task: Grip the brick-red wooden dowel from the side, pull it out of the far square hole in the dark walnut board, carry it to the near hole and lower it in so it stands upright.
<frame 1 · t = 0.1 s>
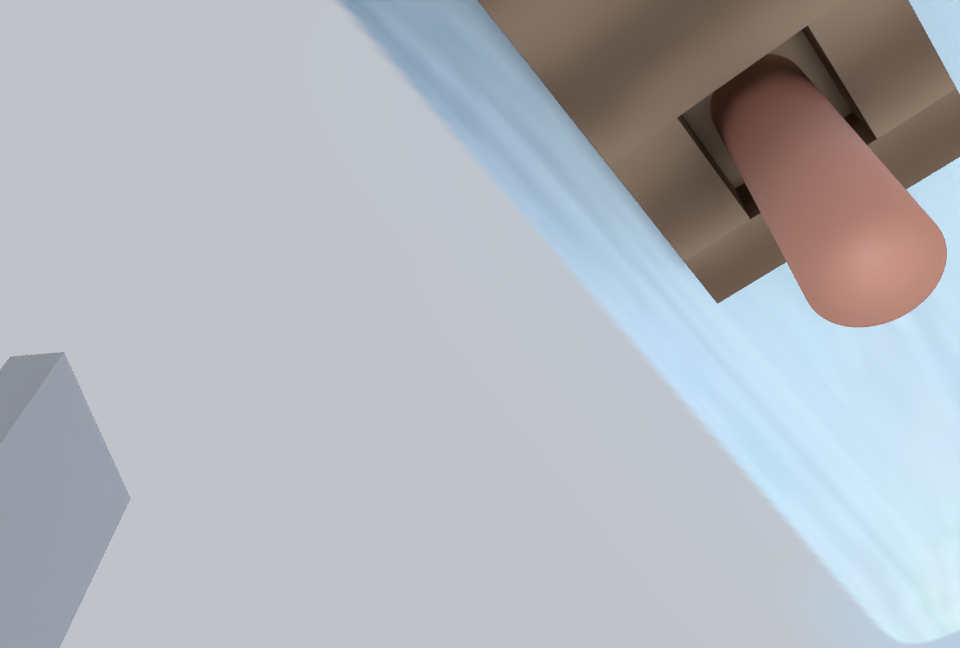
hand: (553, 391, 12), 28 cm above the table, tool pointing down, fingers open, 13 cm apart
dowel: (759, 101, 37), point 1 cm above the table, touching hole board
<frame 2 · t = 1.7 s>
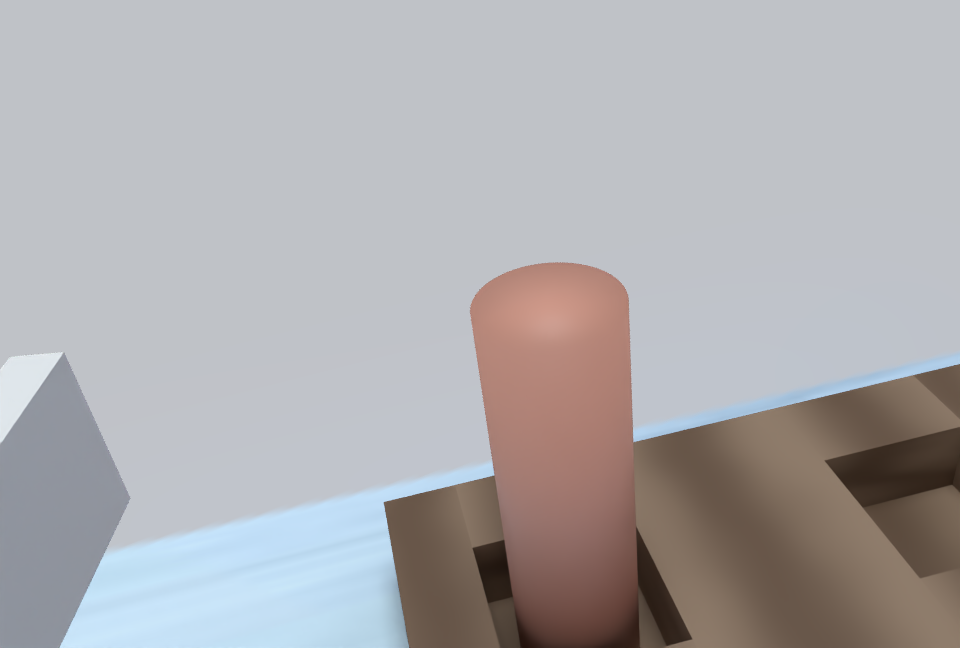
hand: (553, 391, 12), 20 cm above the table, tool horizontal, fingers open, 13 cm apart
hole board: (758, 619, 32), on the table
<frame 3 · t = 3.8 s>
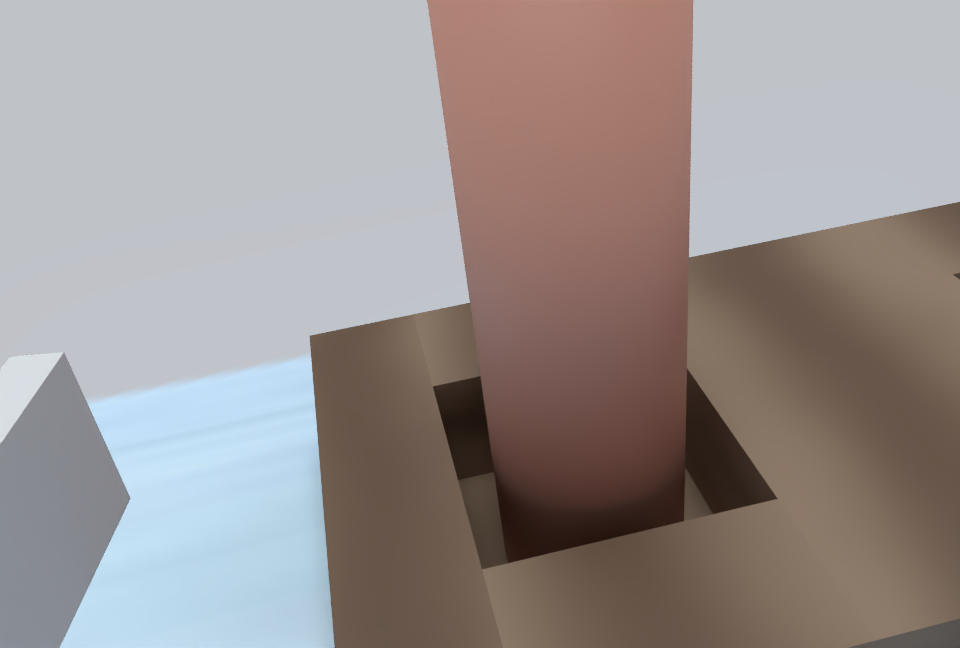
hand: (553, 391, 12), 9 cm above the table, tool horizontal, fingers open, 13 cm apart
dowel: (592, 537, 20), point 1 cm above the table, touching hole board
hole board: (855, 504, 21), on the table
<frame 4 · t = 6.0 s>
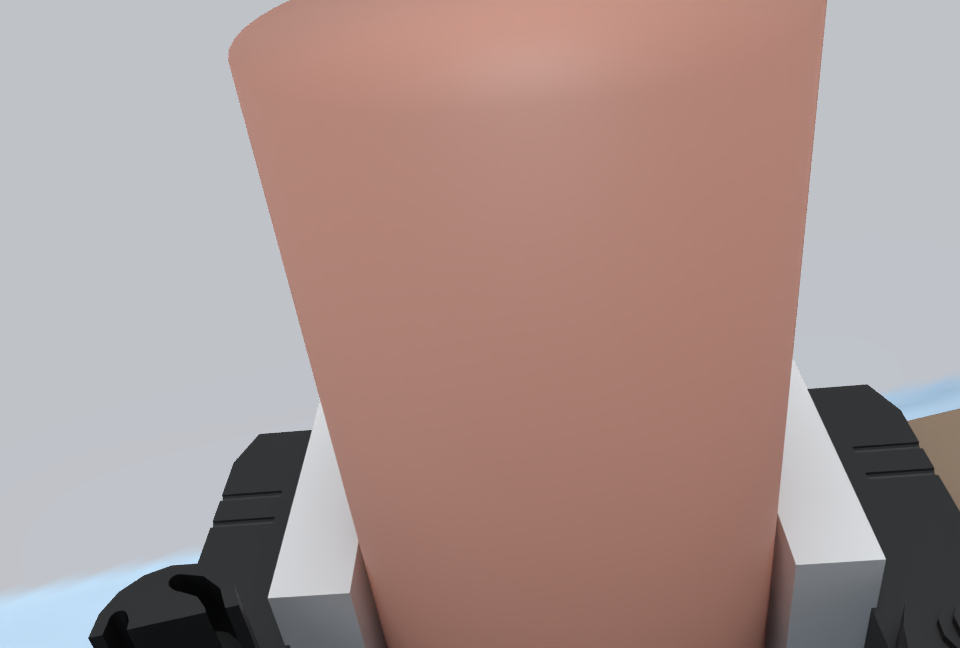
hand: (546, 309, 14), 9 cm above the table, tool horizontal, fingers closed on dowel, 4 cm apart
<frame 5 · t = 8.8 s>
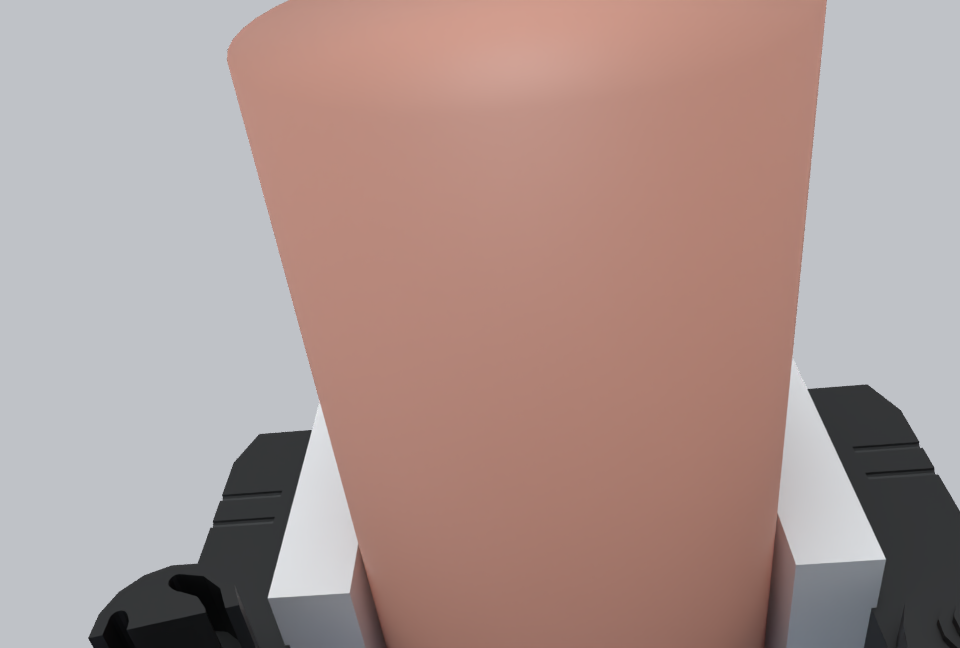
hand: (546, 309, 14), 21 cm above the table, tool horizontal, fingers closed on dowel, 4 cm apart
when the fingers open (10 cm above the table, at t = 11.5 s): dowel drops 1 cm, resting on hole board.
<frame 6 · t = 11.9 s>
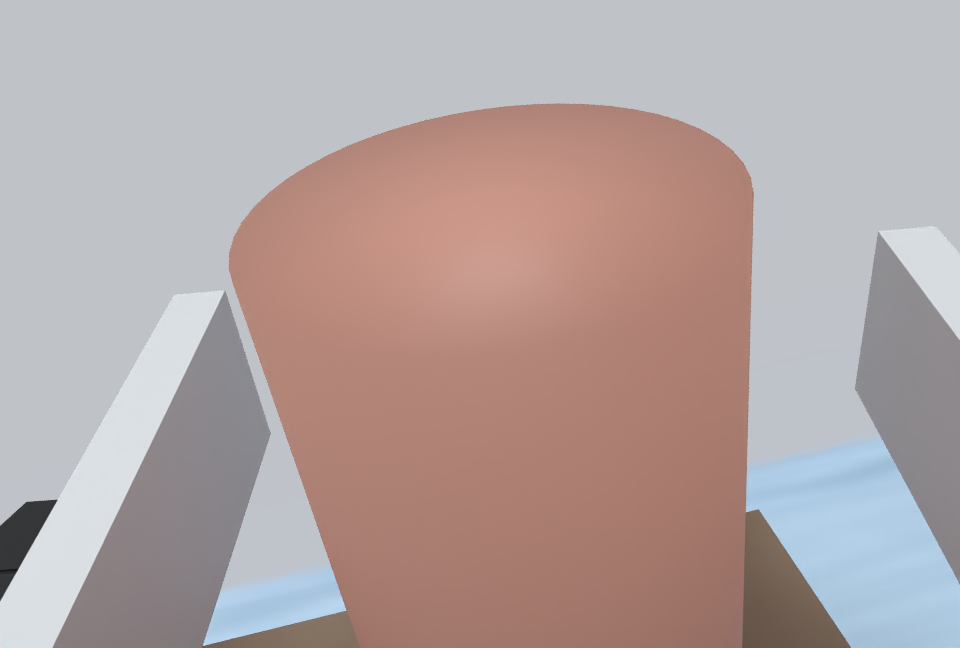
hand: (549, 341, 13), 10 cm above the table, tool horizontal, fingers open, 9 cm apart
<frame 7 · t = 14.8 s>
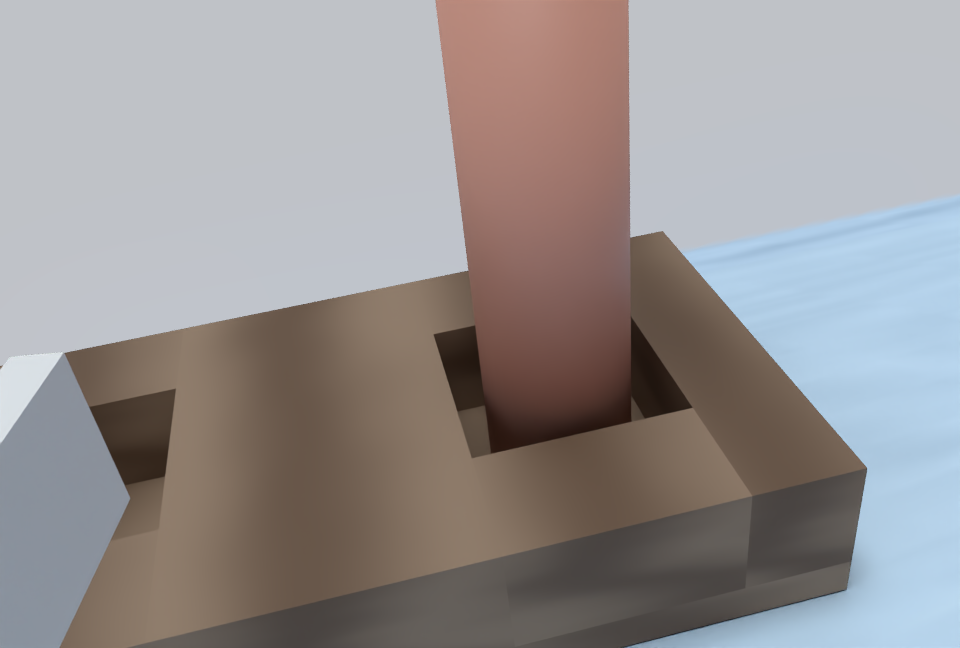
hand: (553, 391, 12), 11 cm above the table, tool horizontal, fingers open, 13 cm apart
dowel: (560, 451, 26), point 1 cm above the table, touching hole board
hole board: (341, 528, 26), on the table
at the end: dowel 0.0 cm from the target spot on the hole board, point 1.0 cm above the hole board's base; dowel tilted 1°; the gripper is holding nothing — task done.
